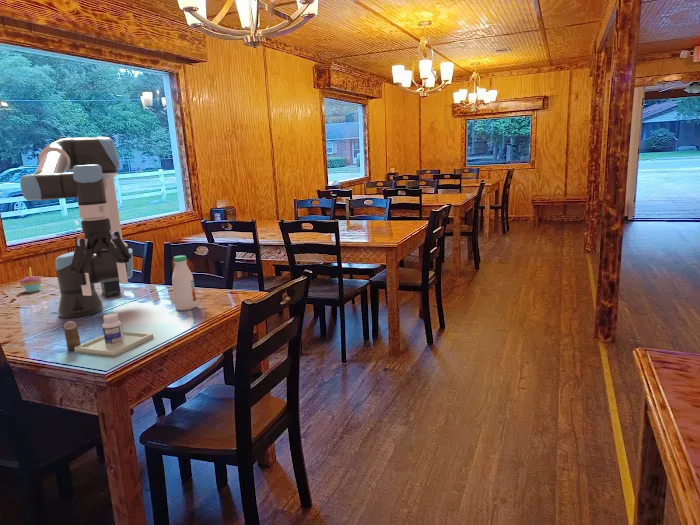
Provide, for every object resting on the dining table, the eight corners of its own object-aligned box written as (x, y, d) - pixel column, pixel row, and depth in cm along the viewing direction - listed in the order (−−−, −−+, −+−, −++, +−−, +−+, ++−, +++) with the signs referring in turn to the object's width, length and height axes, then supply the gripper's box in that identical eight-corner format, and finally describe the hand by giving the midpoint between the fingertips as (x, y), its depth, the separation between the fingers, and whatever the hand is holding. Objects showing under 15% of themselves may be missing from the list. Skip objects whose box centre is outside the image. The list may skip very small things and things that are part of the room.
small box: (122, 294, 217) (118, 270, 215) (105, 297, 213) (101, 273, 211) (117, 290, 226) (113, 267, 223) (101, 292, 222) (97, 269, 220)
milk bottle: (190, 311, 186) (183, 258, 182) (171, 311, 187) (164, 258, 183) (200, 305, 193) (194, 254, 189) (182, 305, 195) (175, 254, 191)
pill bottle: (109, 340, 157) (104, 313, 155) (126, 339, 157) (122, 312, 155) (102, 346, 151) (97, 318, 149) (120, 345, 152) (116, 317, 150)
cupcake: (46, 289, 233) (42, 264, 231) (27, 294, 226) (22, 268, 224) (37, 288, 238) (32, 263, 236) (18, 292, 231) (13, 267, 229)
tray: (74, 352, 150) (74, 347, 150) (116, 334, 164) (115, 329, 164) (114, 356, 144) (113, 352, 144) (153, 338, 158) (152, 333, 158)
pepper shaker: (65, 351, 151) (59, 323, 149) (74, 346, 155) (68, 319, 152) (75, 351, 150) (69, 323, 148) (84, 347, 154) (79, 319, 152)
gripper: (67, 225, 134) (80, 301, 138) (137, 213, 156) (146, 279, 161) (47, 225, 136) (60, 300, 141) (118, 213, 159) (128, 278, 163)
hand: (106, 289), depth 151 cm, fingers open, 13 cm apart
